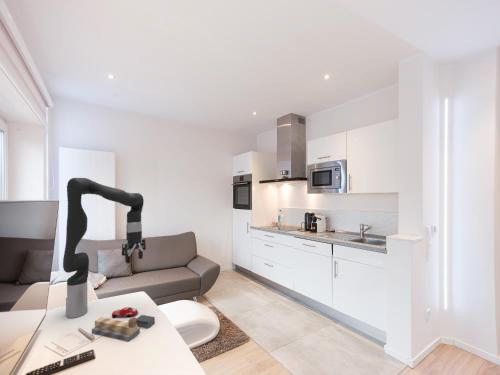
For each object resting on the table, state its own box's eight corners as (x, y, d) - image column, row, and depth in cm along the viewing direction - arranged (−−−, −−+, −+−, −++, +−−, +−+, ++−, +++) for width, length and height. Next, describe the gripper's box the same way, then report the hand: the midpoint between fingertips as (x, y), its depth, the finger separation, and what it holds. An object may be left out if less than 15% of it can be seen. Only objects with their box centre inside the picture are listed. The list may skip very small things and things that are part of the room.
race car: (109, 318, 130) (109, 311, 130) (115, 313, 135) (115, 306, 135) (134, 318, 129) (134, 310, 130) (138, 313, 135) (138, 306, 135)
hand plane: (91, 333, 116) (91, 316, 116) (104, 325, 122) (104, 309, 123) (129, 341, 109) (129, 323, 109) (140, 333, 115) (140, 316, 115)
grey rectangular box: (134, 326, 121) (134, 319, 121) (141, 321, 126) (141, 314, 126) (147, 329, 119) (147, 322, 119) (154, 323, 124) (154, 316, 124)
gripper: (138, 228, 138) (138, 257, 138) (117, 232, 125) (117, 264, 124) (149, 228, 136) (149, 257, 136) (129, 233, 122) (129, 265, 122)
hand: (134, 260), depth 130 cm, fingers open, 8 cm apart
